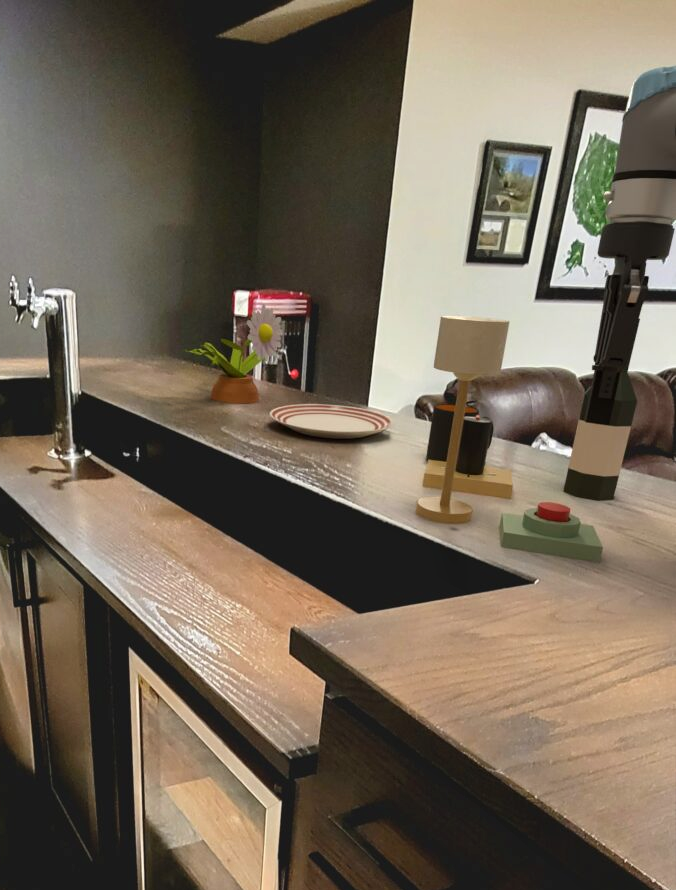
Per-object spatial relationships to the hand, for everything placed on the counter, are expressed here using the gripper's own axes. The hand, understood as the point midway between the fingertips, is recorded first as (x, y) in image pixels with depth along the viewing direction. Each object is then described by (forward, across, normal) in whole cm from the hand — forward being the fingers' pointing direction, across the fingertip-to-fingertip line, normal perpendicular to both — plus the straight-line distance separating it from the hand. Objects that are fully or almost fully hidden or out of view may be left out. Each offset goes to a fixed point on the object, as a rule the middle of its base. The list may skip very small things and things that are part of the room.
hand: (596, 422), depth 92 cm
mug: (+17, -43, -16) cm, 49 cm away
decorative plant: (+16, -84, -74) cm, 113 cm away
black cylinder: (+14, -26, -14) cm, 33 cm away
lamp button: (+14, -1, -3) cm, 14 cm away
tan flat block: (+17, -26, -14) cm, 34 cm away
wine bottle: (+17, -32, +6) cm, 37 cm away
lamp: (+17, -7, -17) cm, 25 cm away
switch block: (+17, -1, -3) cm, 17 cm away
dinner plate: (+16, -58, -43) cm, 74 cm away
